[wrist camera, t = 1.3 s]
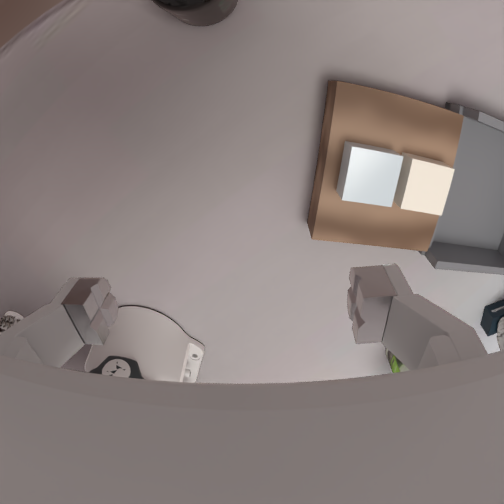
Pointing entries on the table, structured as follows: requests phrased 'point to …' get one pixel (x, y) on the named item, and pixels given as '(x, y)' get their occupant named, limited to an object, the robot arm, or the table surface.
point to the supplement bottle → (198, 10)
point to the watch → (494, 321)
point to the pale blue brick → (368, 174)
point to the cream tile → (423, 184)
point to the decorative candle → (9, 320)
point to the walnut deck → (385, 136)
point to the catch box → (473, 200)
